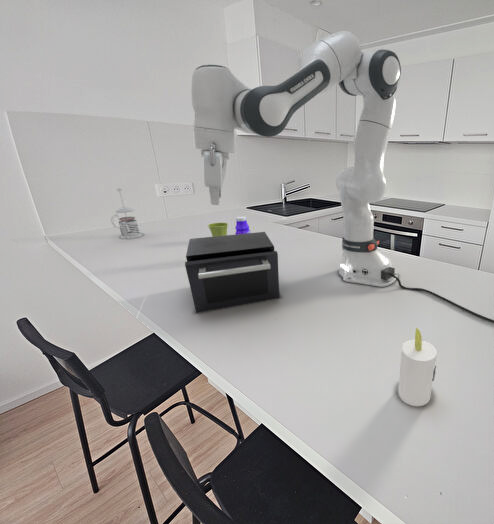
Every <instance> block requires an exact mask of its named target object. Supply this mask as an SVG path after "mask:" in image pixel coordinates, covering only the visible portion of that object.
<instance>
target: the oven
mask: <svg viewBox="0 0 494 524" xmlns="http://www.w3.org/2000/svg"><path fill="white" fill-rule="evenodd" d="M187 244H188V245H187V250H186V253H185V259H186V262H189V261H197V260H206V259H214V258H222V257H231V256H239V255H247V254H256V253H264V252H272V251H275V245H274V244H273V242H272V240H271V239H270V237H269V236H268V234H267V233H266V231H257V232H251V233H246V234H236V235H235V234H227V235H225V236H215V237H212V236H205V237H193V238H189V240H188V243H187Z"/></svg>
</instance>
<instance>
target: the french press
mask: <svg viewBox="0 0 494 524" xmlns="http://www.w3.org/2000/svg"><path fill="white" fill-rule="evenodd" d="M116 191H117V192H119V195H120V199H121V202H122V206H123V207H120V208H117V209H116V210H115V211H114V212H115V214H113V215H112V217H111V218H110V219H111V220H110V222H111V224H112V226H113V227H114V228H117V229H119V231H120V234H121V236H120V238H121V239H124V240H125V239H128V240H129V239H135V238H140V237H142V236H143V234H142V233H141V232H140V228H139V225H138V221H137V219H136V217H135V216H127V213H133V212H134V211H135V209H134V208H131V207H126V206H124V201H123V198H122V194H121V191H122V188H119V187H118V188H116ZM117 213H118V214H122V213H123V214H125V216H123V217H120V216H119V215H118V214H117ZM115 217H117V218H118V220H119V221H118V225H119V227H118V226H116V225H115V221H114V220H115Z"/></svg>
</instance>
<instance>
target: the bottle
mask: <svg viewBox="0 0 494 524" xmlns="http://www.w3.org/2000/svg"><path fill="white" fill-rule="evenodd" d="M235 222H236V224H235V233H234V235H236V234H246V233H252V232H251V230H250V225H249V224H248V221H247V217H246V216H244V215H243V216H242V215H241V216H236V217H235Z"/></svg>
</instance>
